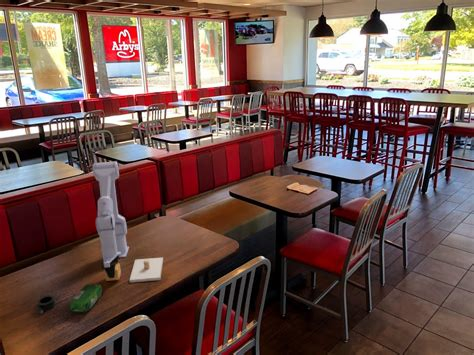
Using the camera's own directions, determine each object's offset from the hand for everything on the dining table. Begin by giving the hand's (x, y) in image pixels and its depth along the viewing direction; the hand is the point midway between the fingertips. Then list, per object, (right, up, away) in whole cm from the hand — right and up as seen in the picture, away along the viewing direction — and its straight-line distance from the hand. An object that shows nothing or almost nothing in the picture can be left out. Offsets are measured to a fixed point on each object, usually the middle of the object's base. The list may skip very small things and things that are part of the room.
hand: (113, 273), depth 155 cm
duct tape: (-19, -8, -15) cm, 26 cm away
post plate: (+13, 0, +6) cm, 14 cm away
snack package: (-4, -8, -15) cm, 17 cm away
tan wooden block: (0, -1, 0) cm, 1 cm away
